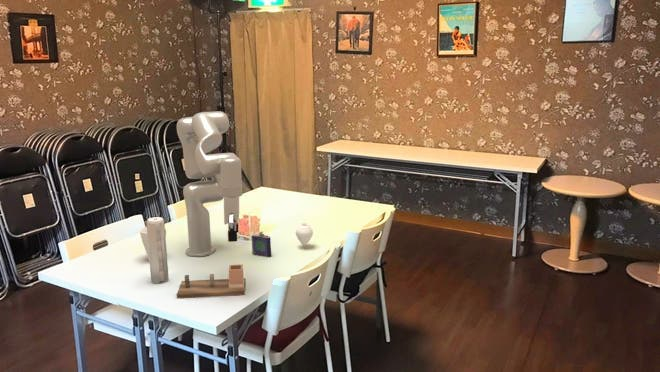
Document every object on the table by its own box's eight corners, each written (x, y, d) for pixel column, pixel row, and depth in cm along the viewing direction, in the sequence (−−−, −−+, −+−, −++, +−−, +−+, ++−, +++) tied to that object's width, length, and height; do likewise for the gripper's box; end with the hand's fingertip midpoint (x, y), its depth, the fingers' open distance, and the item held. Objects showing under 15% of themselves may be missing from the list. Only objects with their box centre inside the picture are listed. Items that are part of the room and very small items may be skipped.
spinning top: (314, 245, 252) (313, 220, 249) (311, 251, 245) (311, 225, 242) (297, 244, 253) (297, 219, 250) (294, 250, 245) (294, 224, 243)
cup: (160, 265, 229) (158, 234, 226) (137, 263, 231) (135, 232, 228) (172, 256, 239) (170, 226, 236) (150, 254, 241) (148, 224, 238)
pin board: (181, 284, 210) (180, 269, 208) (245, 281, 212) (245, 267, 211) (176, 298, 198) (175, 282, 197) (244, 295, 201) (243, 279, 199)
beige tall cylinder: (170, 277, 217) (166, 216, 211) (166, 283, 210) (161, 221, 205) (153, 277, 217) (148, 216, 211) (149, 284, 210) (143, 221, 204)
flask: (251, 254, 241) (250, 231, 238) (254, 252, 243) (253, 229, 241) (269, 258, 237) (268, 234, 234) (272, 255, 239) (272, 232, 237)
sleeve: (229, 282, 208) (229, 264, 206) (244, 281, 209) (243, 264, 207) (228, 288, 203) (228, 270, 201) (243, 287, 204) (242, 269, 202)
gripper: (222, 185, 205) (224, 229, 210) (219, 198, 189) (221, 245, 193) (242, 185, 206) (244, 228, 210) (241, 197, 190) (243, 244, 194)
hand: (233, 236), depth 202 cm, fingers open, 9 cm apart
